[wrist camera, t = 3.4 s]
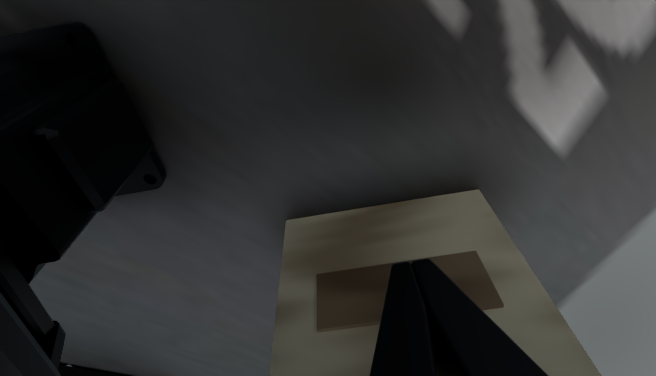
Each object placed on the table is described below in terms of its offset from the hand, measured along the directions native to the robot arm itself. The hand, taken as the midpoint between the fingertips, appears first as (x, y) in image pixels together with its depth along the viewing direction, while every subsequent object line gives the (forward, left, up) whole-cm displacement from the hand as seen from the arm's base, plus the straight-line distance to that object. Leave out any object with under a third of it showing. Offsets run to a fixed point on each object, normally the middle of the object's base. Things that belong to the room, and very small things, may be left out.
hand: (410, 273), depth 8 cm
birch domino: (0, -6, -8) cm, 10 cm away
